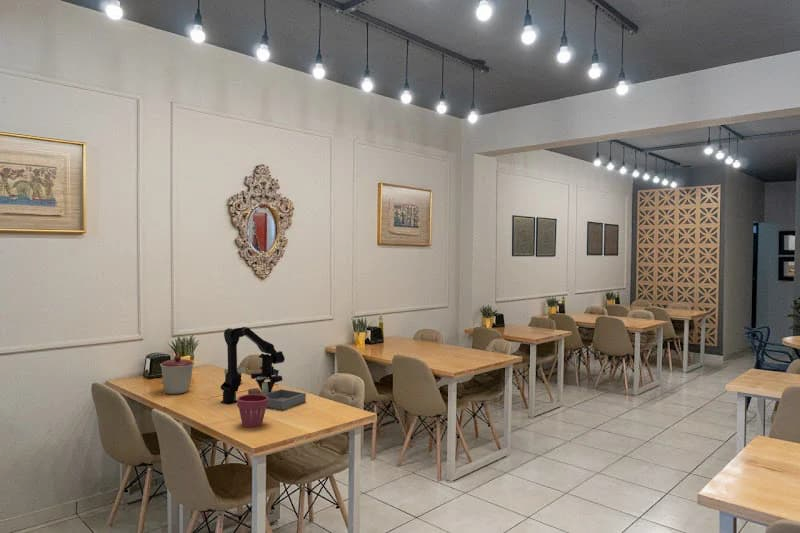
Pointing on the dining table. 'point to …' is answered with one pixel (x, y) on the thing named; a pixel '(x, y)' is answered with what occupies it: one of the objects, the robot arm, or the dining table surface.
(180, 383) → the canister
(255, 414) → the plant pot
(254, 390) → the walnut cube
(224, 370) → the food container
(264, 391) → the sage cylinder
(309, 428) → the dining table surface
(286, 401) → the tote
